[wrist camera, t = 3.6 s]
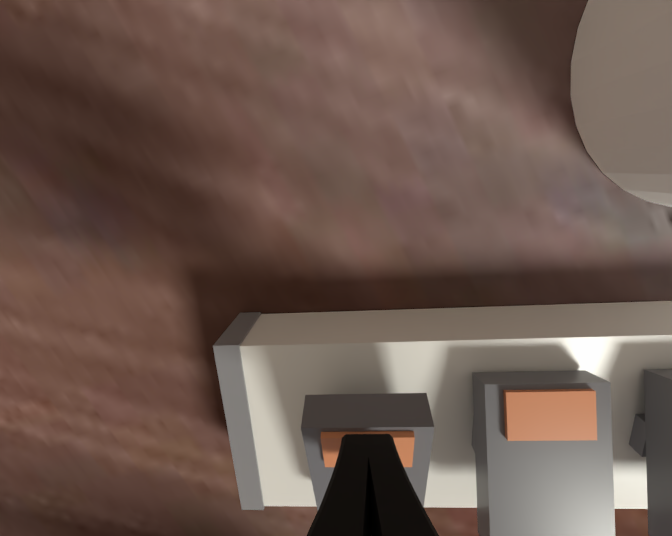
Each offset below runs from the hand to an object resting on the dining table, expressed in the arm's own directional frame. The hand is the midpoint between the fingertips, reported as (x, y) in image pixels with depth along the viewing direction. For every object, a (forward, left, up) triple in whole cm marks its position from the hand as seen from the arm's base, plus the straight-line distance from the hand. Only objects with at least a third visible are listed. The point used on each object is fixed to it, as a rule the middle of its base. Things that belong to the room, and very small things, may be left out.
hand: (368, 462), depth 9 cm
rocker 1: (-2, 0, -2) cm, 3 cm away
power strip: (-2, -9, -7) cm, 11 cm away
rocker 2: (-2, -6, -2) cm, 7 cm away
